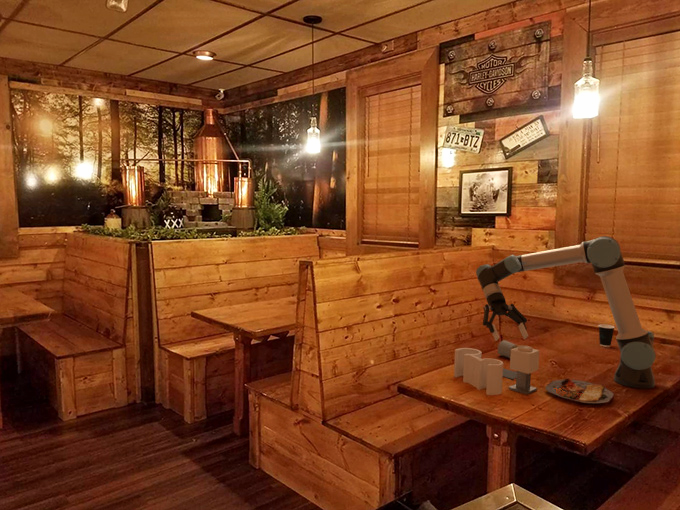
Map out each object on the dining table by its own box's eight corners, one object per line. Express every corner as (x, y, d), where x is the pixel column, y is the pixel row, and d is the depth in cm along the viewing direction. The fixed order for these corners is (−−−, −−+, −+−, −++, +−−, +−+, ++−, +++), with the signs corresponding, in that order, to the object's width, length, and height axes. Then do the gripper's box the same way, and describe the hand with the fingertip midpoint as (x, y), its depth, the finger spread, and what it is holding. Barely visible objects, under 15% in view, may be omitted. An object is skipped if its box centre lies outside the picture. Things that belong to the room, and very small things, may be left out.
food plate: (558, 379, 223) (559, 371, 223) (618, 393, 209) (619, 385, 208) (538, 397, 204) (539, 388, 204) (603, 414, 190) (604, 404, 189)
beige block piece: (538, 369, 209) (539, 348, 208) (528, 373, 204) (529, 351, 203) (519, 365, 215) (521, 343, 214) (509, 368, 210) (511, 347, 209)
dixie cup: (596, 346, 279) (598, 326, 278) (597, 343, 286) (598, 323, 285) (613, 348, 276) (614, 328, 275) (613, 345, 283) (614, 325, 282)
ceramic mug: (510, 360, 250) (511, 344, 250) (496, 356, 257) (497, 341, 256) (524, 357, 256) (525, 342, 255) (510, 353, 263) (511, 338, 262)
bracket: (507, 393, 206) (509, 363, 205) (487, 396, 203) (488, 366, 201) (471, 373, 229) (472, 347, 228) (452, 376, 226) (453, 348, 225)
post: (537, 390, 210) (538, 363, 209) (527, 394, 205) (528, 367, 204) (518, 385, 216) (520, 359, 215) (508, 389, 211) (510, 362, 209)
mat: (524, 375, 229) (524, 374, 229) (512, 379, 222) (512, 378, 222) (503, 369, 236) (503, 368, 236) (491, 373, 230) (491, 372, 230)
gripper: (515, 300, 235) (533, 341, 223) (465, 301, 229) (481, 344, 216) (523, 290, 230) (542, 332, 217) (472, 291, 223) (488, 334, 210)
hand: (511, 338), depth 216 cm, fingers open, 13 cm apart
